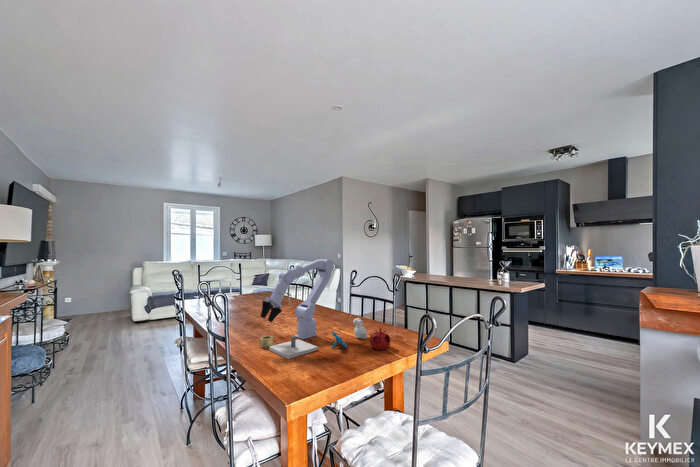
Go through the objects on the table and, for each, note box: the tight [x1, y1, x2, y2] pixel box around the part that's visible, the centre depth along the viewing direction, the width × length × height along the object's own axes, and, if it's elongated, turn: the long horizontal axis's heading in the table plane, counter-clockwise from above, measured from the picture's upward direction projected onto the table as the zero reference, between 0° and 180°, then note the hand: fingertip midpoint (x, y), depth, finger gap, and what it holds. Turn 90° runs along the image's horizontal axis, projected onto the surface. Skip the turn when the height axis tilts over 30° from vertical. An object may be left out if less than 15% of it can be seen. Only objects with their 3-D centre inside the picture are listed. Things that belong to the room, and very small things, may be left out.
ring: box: [259, 335, 274, 349], centre depth 151 cm, size 6×6×4 cm
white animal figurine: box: [352, 317, 368, 340], centre depth 164 cm, size 12×8×11 cm
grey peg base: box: [268, 335, 319, 360], centre depth 145 cm, size 16×16×6 cm
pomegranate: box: [368, 327, 391, 351], centre depth 147 cm, size 10×10×9 cm
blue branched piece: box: [331, 331, 348, 349], centre depth 148 cm, size 11×6×10 cm
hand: (266, 319), depth 151 cm, fingers open, 7 cm apart
